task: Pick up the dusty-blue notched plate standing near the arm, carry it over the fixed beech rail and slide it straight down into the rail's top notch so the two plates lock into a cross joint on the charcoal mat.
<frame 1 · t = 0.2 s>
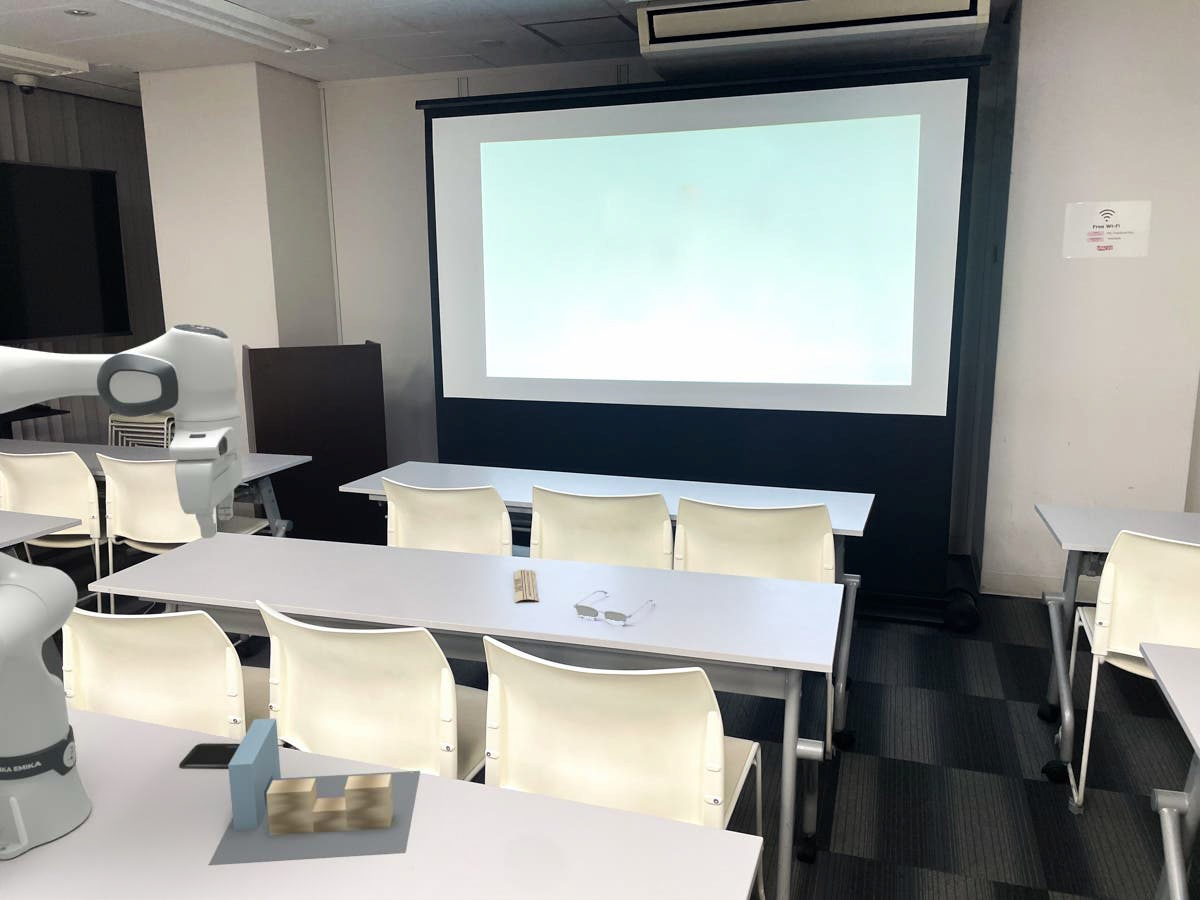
hand: (217, 527, 133), 47 cm above the table, fingers open, 8 cm apart
beech rail: (332, 824, 137), resting on mat
phone: (230, 761, 157), on the table
eyeglasses: (616, 612, 226), on the table
blue plate: (258, 803, 143), resting on mat
mat: (323, 816, 140), on the table
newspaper: (523, 590, 242), on the table
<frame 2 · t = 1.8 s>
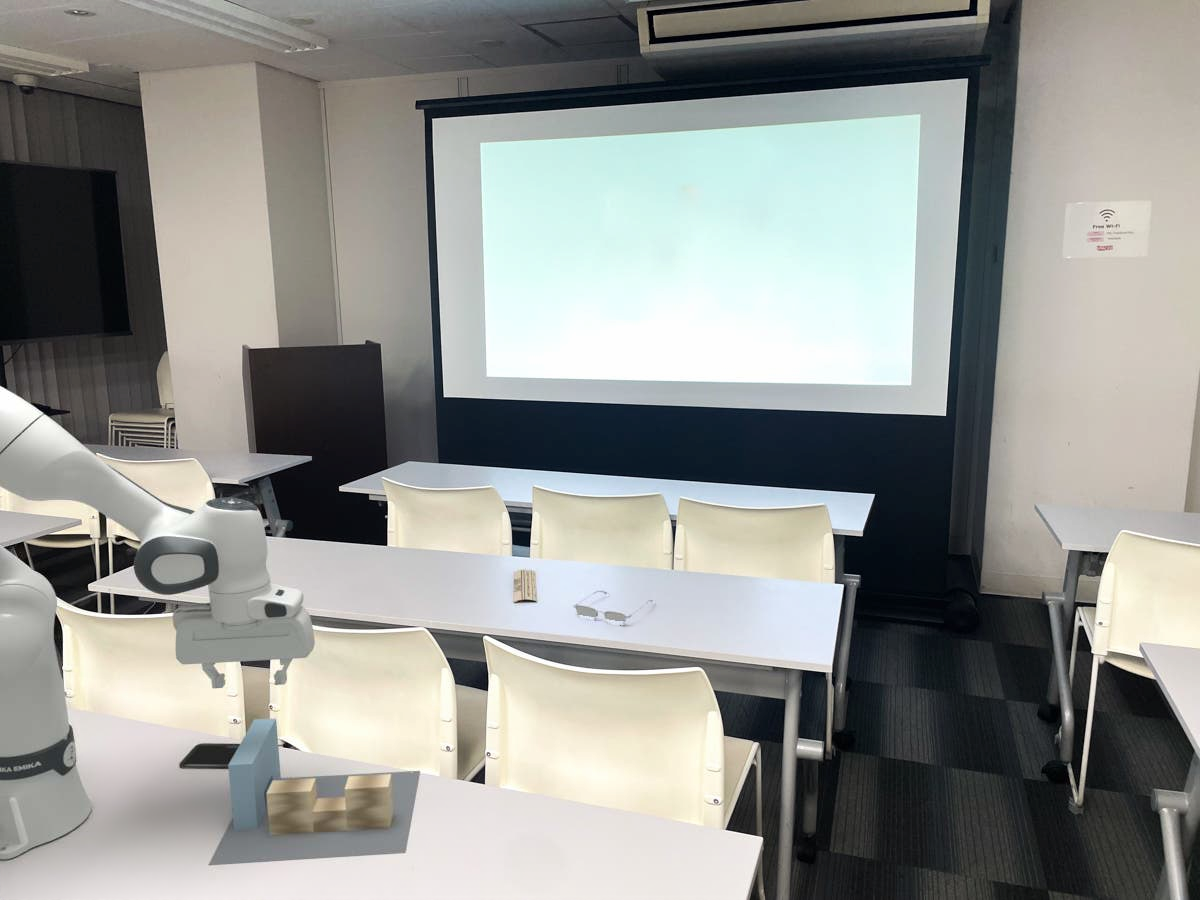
hand: (250, 684, 139), 21 cm above the table, fingers open, 8 cm apart
nothing on the table moved.
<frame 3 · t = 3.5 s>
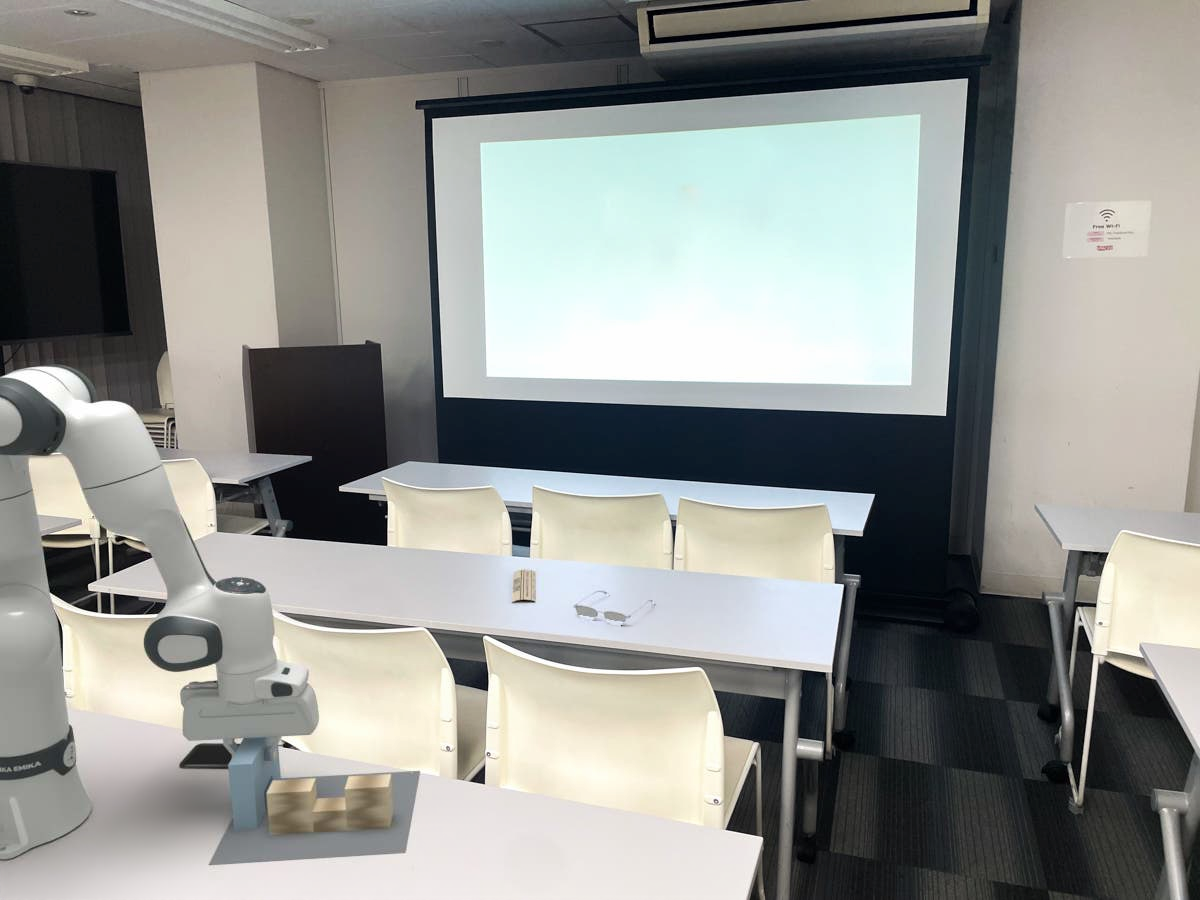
hand: (254, 760, 141), 8 cm above the table, fingers closed on blue plate, 3 cm apart
blue plate: (258, 803, 143), resting on mat, touching gripper
everything else where it was.
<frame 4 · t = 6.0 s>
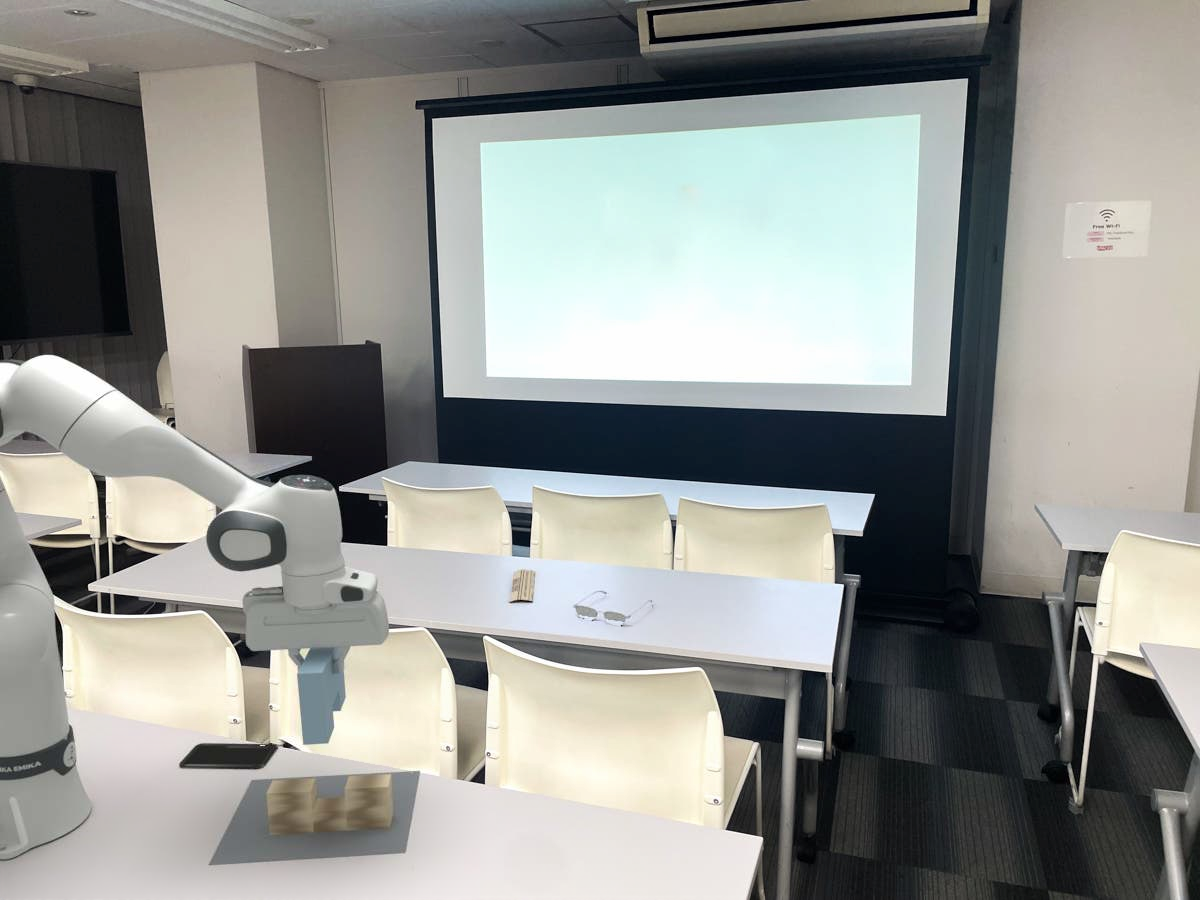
hand: (321, 673, 132), 26 cm above the table, fingers closed on blue plate, 3 cm apart
blue plate: (325, 719, 134), point 18 cm above the table, touching gripper
everything else where it was.
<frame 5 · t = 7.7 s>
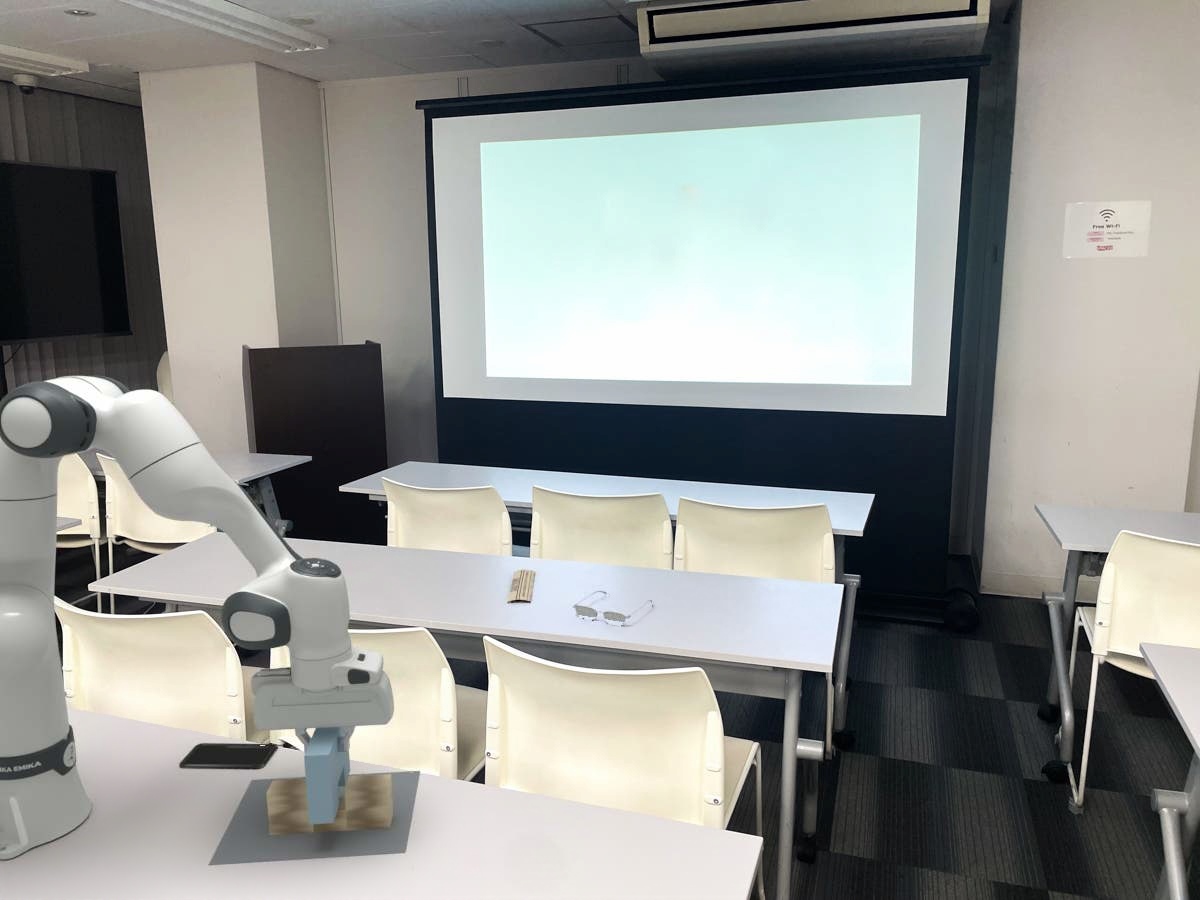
hand: (327, 750, 135), 13 cm above the table, fingers closed on blue plate, 3 cm apart
blue plate: (330, 795, 137), point 5 cm above the table, touching gripper
when the fingers open (9 cm above the table, at t = 8.8 s): blue plate stays where it is, resting on beech rail, mat.
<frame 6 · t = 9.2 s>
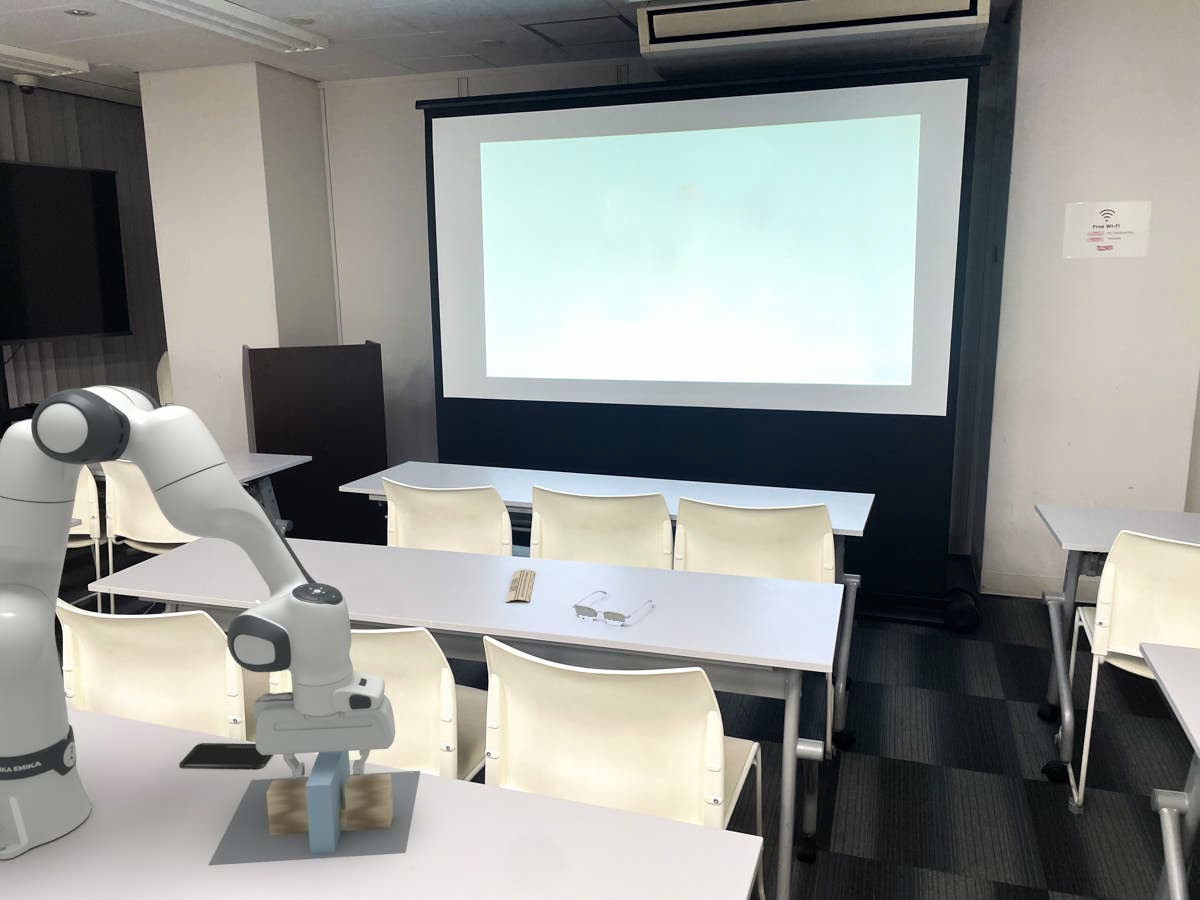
hand: (329, 774, 136), 9 cm above the table, fingers open, 8 cm apart
blue plate: (332, 824, 138), resting on beech rail, mat
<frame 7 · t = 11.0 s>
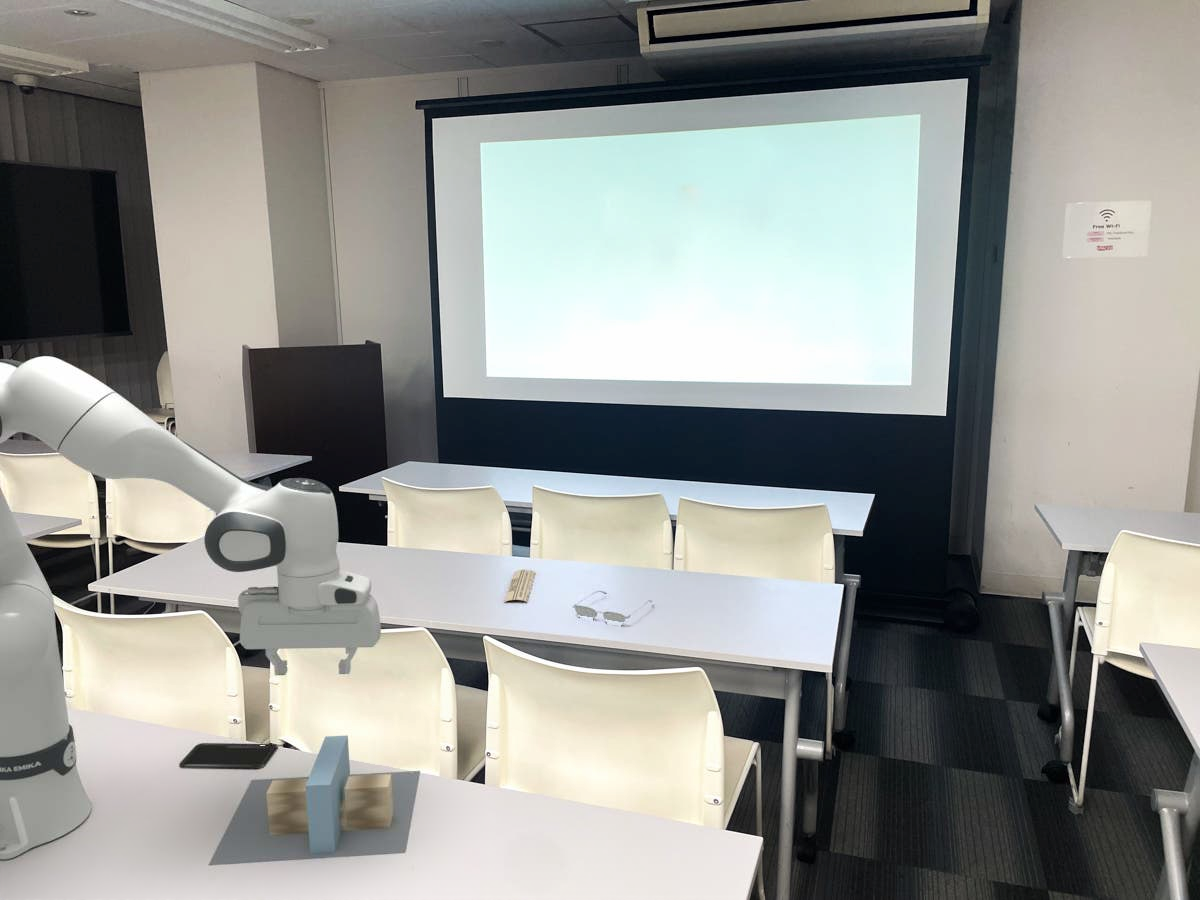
hand: (313, 673, 135), 25 cm above the table, fingers open, 8 cm apart
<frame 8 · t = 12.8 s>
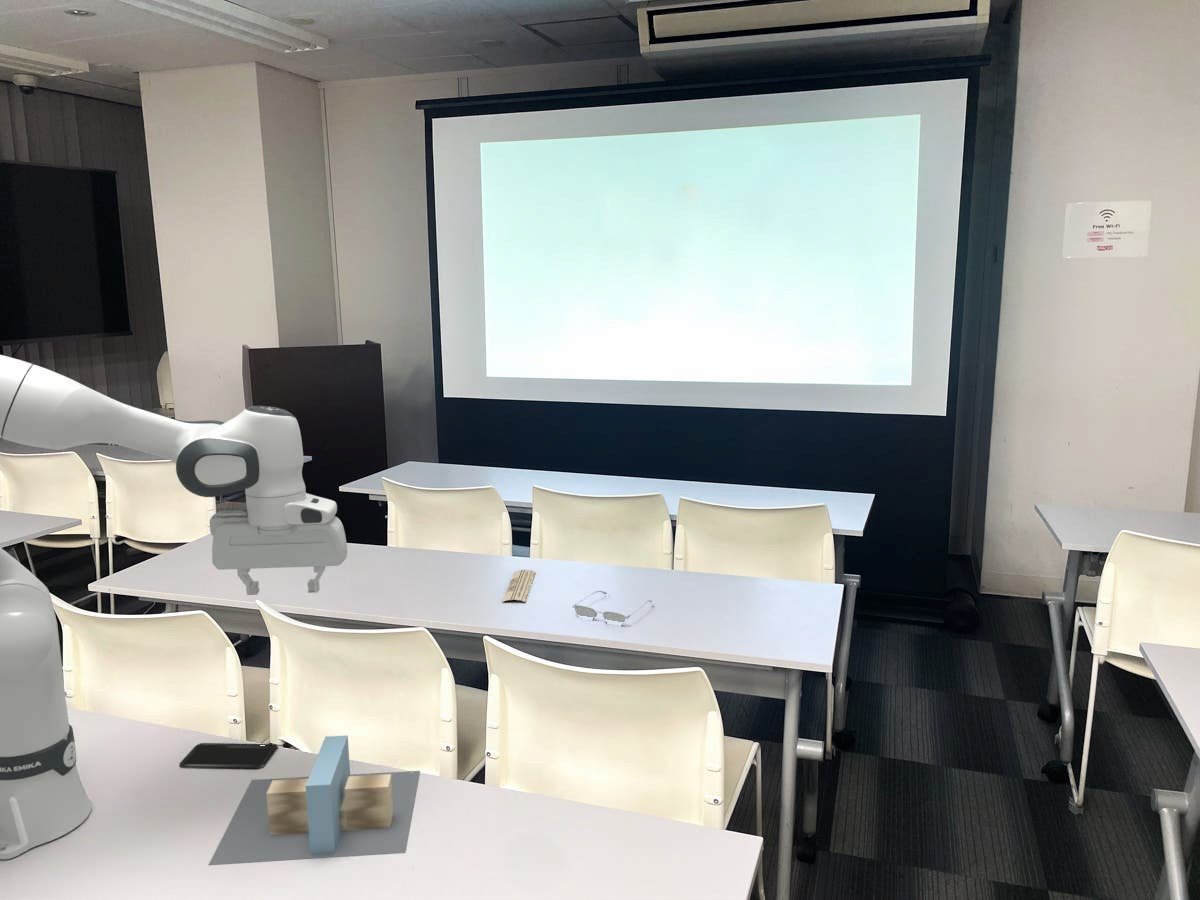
hand: (283, 592, 142), 34 cm above the table, fingers open, 8 cm apart
at the end: blue plate 0.2 cm off-centre on the beech rail, point 0.0 cm above the beech rail's base; blue plate tilted 0°; the gripper is holding nothing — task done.
